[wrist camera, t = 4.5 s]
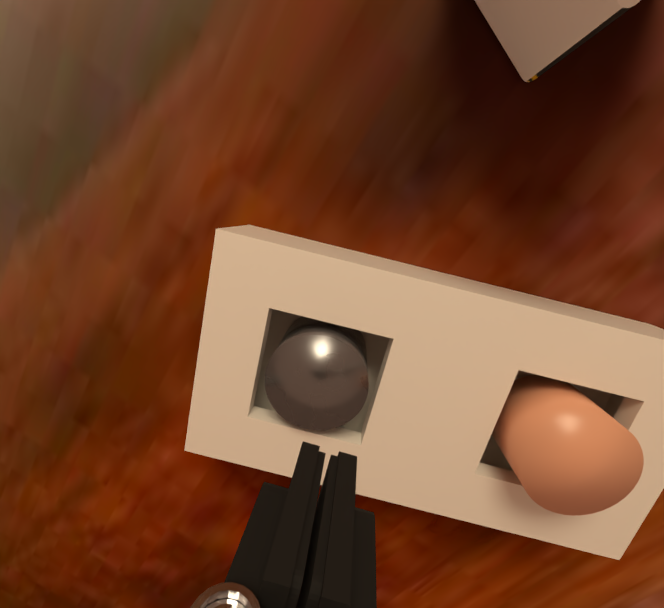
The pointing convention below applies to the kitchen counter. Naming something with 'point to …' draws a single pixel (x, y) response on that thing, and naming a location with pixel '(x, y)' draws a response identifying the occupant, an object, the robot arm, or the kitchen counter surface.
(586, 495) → the light brown rounded piece
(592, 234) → the kitchen counter surface
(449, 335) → the button console
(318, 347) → the charcoal button
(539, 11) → the medicine bottle
